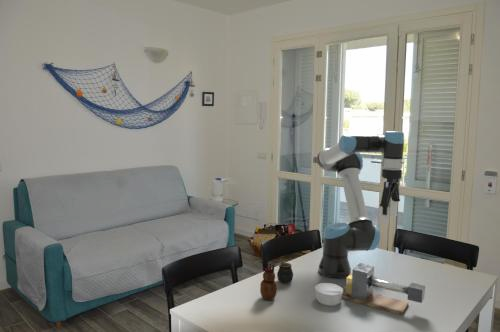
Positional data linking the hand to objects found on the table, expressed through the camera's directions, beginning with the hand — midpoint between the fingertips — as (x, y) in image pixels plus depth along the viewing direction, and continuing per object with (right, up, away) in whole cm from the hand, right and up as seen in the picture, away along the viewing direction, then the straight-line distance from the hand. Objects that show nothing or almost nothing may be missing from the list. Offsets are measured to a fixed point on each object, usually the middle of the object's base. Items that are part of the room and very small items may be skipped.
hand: (389, 219), depth 164 cm
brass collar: (-16, -27, -1) cm, 31 cm away
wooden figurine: (-51, -32, -4) cm, 60 cm away
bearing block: (-12, -31, -3) cm, 33 cm away
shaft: (-3, -27, -9) cm, 29 cm away
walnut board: (-9, -32, -5) cm, 34 cm away
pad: (-17, -30, 0) cm, 35 cm away
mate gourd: (-43, -30, +13) cm, 54 cm away
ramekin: (-27, -32, -6) cm, 42 cm away
